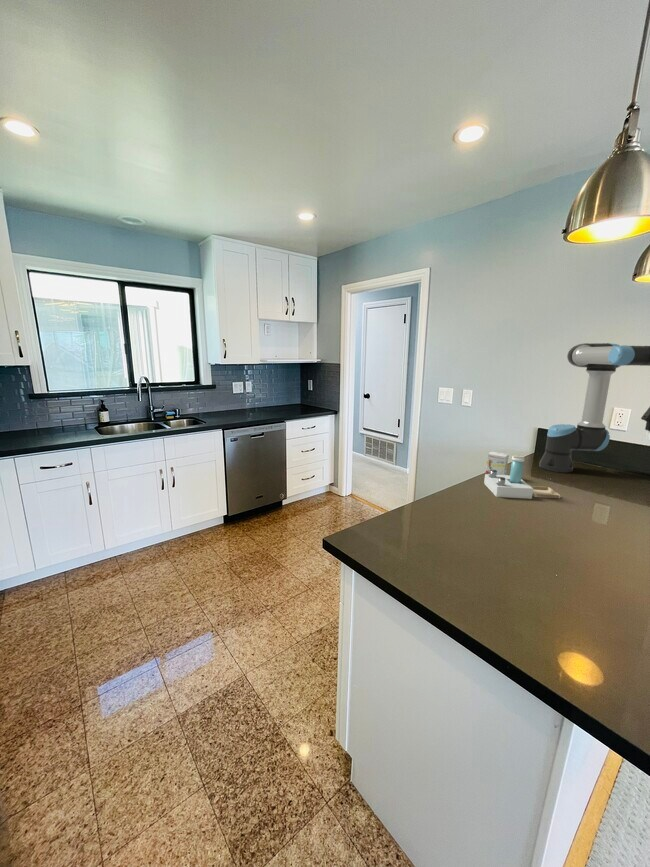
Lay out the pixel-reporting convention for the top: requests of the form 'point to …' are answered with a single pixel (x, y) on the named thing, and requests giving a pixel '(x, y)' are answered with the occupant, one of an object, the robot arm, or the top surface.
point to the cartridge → (516, 469)
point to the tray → (544, 492)
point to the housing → (508, 487)
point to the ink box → (497, 463)
